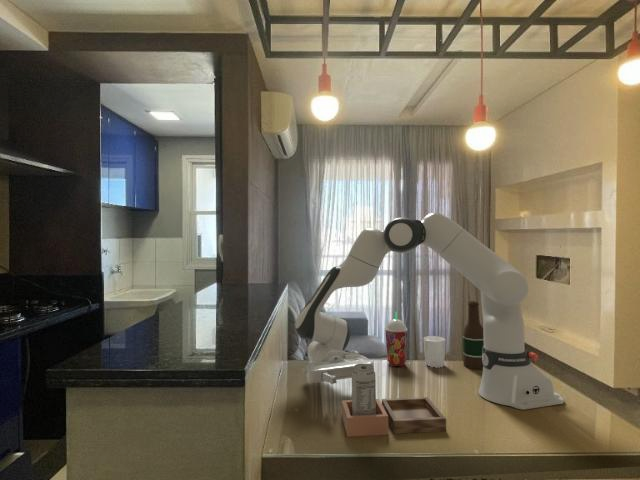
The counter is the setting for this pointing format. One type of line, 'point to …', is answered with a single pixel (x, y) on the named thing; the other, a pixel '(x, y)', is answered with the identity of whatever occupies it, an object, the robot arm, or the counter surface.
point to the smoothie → (396, 342)
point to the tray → (413, 415)
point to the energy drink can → (363, 390)
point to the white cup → (434, 351)
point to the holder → (364, 421)
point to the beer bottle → (473, 339)
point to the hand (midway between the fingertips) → (349, 378)
